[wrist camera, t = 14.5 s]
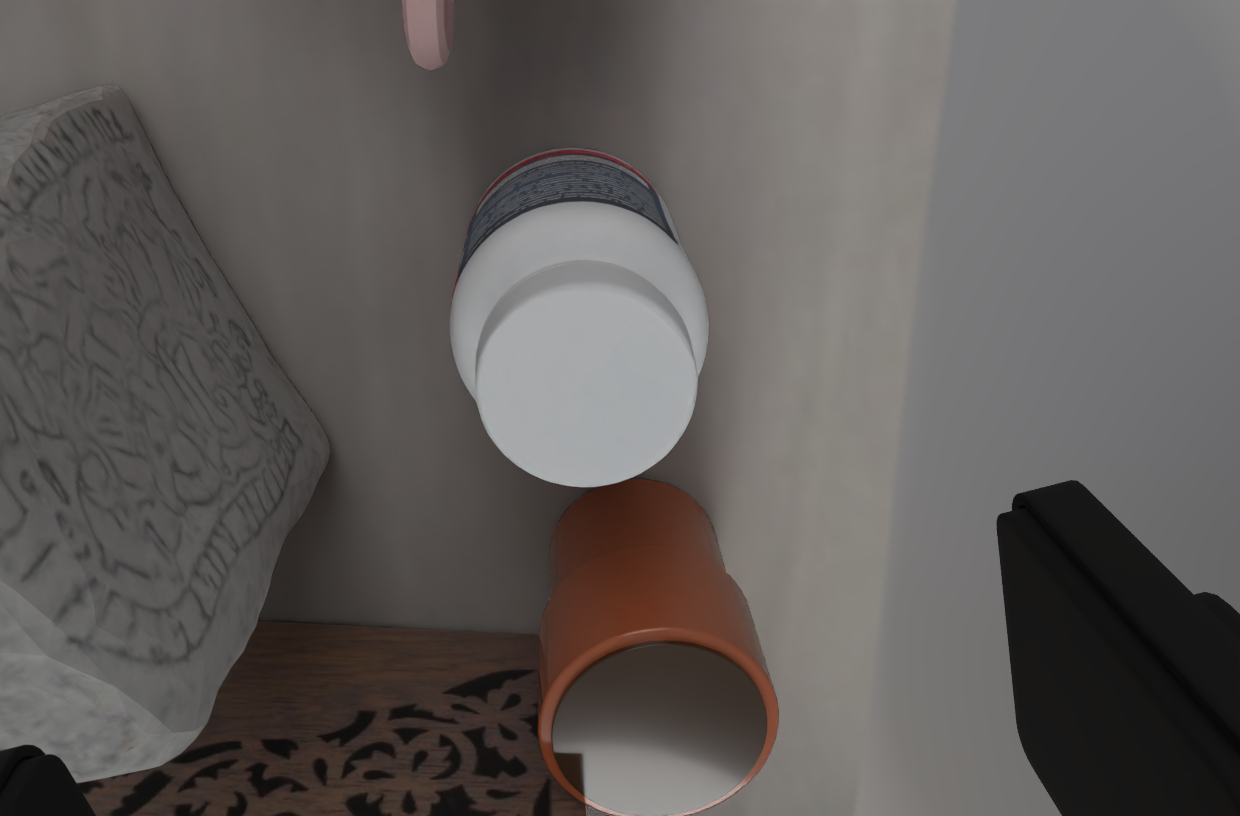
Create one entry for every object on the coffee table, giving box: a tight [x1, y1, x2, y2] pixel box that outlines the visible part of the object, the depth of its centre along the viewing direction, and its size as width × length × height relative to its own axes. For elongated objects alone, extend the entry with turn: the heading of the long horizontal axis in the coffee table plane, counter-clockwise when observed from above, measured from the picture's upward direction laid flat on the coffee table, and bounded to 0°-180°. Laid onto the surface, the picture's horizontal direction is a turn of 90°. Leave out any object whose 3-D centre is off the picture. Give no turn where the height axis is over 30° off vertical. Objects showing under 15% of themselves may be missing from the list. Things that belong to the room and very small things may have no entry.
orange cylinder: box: [538, 479, 779, 816], centre depth 27 cm, size 5×5×8 cm
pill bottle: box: [450, 148, 709, 487], centre depth 23 cm, size 5×5×9 cm
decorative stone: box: [0, 84, 330, 783], centre depth 20 cm, size 11×6×15 cm, turn 25°
